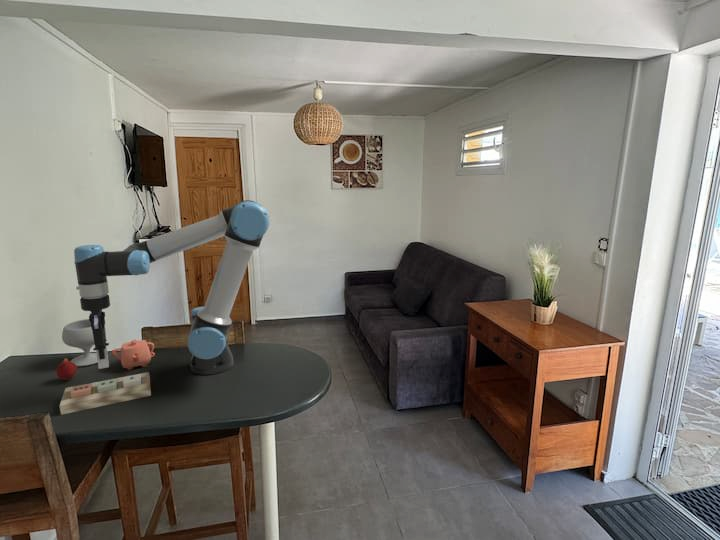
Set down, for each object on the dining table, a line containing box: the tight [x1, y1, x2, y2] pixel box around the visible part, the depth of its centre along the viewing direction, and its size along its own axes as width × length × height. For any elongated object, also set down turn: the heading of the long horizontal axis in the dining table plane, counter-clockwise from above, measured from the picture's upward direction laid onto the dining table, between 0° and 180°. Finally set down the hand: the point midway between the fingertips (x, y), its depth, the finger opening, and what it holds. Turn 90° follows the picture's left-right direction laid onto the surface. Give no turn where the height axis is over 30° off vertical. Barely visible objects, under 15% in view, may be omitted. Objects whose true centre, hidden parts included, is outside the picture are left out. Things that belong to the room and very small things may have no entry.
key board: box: [59, 371, 152, 416], centre depth 132 cm, size 24×12×3 cm, turn 118°
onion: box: [56, 357, 78, 381], centre depth 142 cm, size 6×6×8 cm
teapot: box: [111, 339, 156, 371], centre depth 154 cm, size 12×12×10 cm
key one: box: [122, 373, 142, 388], centre depth 135 cm, size 5×5×3 cm
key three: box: [71, 382, 93, 399], centre depth 129 cm, size 5×5×3 cm
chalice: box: [61, 318, 107, 367], centre depth 157 cm, size 14×14×15 cm
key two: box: [97, 377, 118, 393], centre depth 132 cm, size 5×5×3 cm
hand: (103, 367), depth 130 cm, fingers closed
